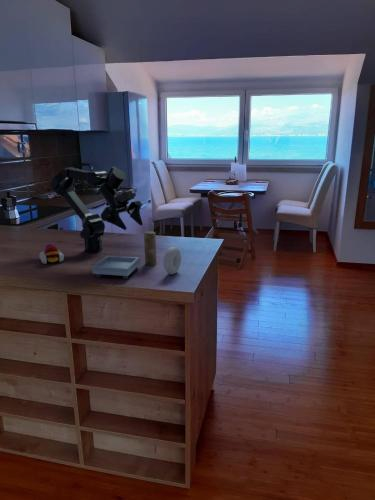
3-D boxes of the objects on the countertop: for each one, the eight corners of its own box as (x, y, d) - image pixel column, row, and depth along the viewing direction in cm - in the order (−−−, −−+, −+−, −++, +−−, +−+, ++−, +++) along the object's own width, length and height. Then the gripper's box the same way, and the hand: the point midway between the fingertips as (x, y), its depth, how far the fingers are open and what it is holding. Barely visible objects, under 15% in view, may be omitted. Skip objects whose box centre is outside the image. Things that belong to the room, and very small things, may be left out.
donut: (174, 268, 144) (174, 243, 141) (182, 270, 143) (182, 244, 140) (162, 277, 136) (161, 250, 133) (170, 278, 134) (170, 251, 131)
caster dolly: (93, 277, 136) (92, 266, 134) (107, 266, 148) (107, 255, 147) (128, 280, 133) (127, 268, 132) (140, 268, 145) (139, 257, 144)
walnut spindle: (143, 265, 148) (142, 233, 145) (147, 261, 152) (145, 231, 149) (154, 266, 147) (153, 234, 144) (157, 262, 151) (156, 231, 148)
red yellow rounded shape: (42, 266, 148) (40, 248, 146) (39, 259, 156) (37, 242, 154) (65, 263, 152) (63, 245, 150) (60, 256, 160) (59, 239, 158)
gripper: (103, 185, 141) (127, 218, 138) (137, 180, 156) (159, 210, 153) (90, 205, 148) (113, 236, 145) (124, 198, 163) (145, 227, 160)
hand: (134, 227), depth 150 cm, fingers open, 9 cm apart
